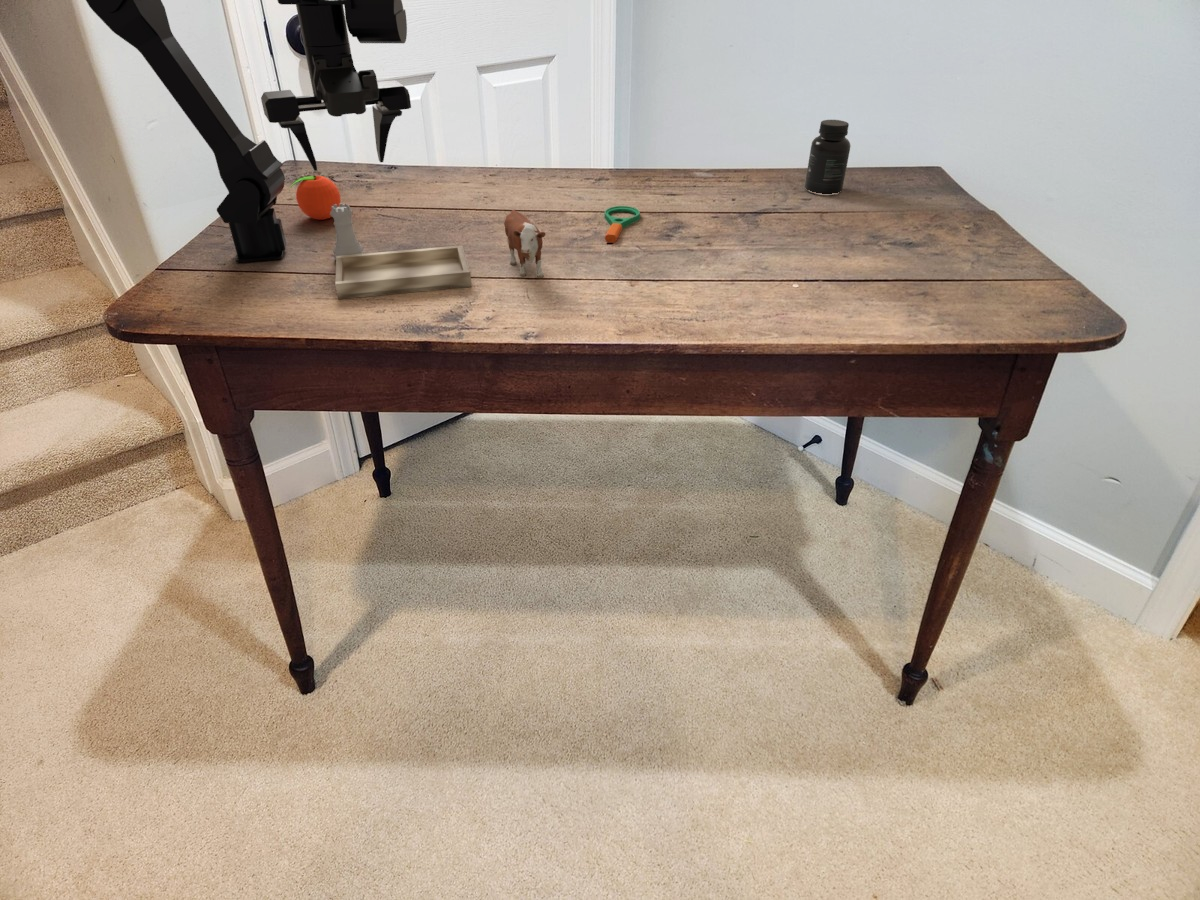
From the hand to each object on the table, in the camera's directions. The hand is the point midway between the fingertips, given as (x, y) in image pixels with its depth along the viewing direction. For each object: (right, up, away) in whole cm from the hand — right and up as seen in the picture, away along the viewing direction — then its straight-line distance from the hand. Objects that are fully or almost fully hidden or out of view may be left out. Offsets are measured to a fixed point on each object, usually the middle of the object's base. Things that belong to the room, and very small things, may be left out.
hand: (348, 165), depth 112 cm
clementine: (-11, -2, +21) cm, 24 cm away
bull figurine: (+25, -14, +4) cm, 29 cm away
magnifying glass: (+39, -4, +19) cm, 43 cm away
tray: (+8, -16, +1) cm, 17 cm away
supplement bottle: (+77, +8, +35) cm, 85 cm away
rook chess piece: (-2, -12, +7) cm, 14 cm away
